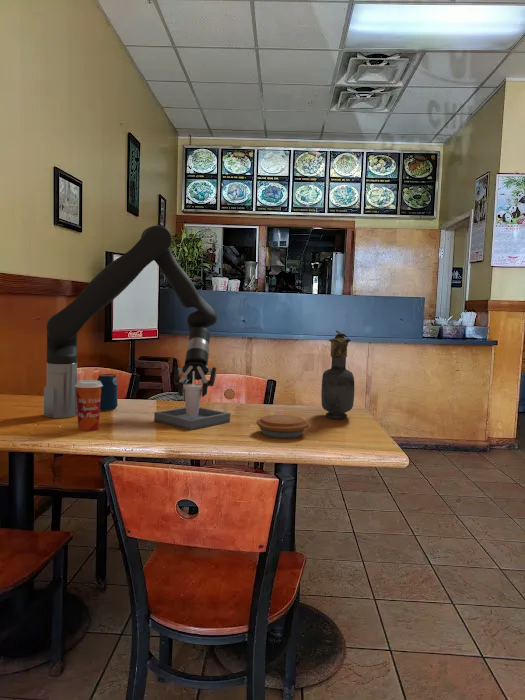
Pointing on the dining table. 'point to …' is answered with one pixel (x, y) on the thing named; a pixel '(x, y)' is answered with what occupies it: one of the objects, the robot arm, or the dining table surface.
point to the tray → (191, 418)
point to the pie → (282, 426)
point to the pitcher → (338, 381)
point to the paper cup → (88, 404)
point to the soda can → (108, 391)
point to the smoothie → (192, 397)
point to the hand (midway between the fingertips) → (192, 394)
